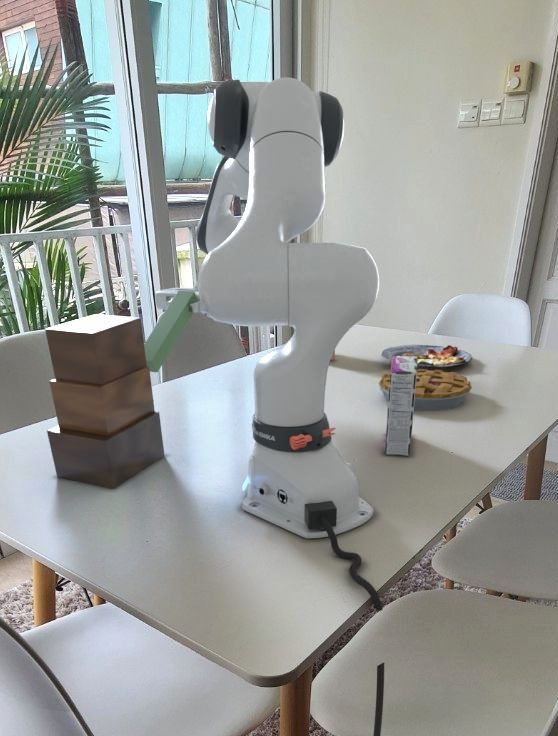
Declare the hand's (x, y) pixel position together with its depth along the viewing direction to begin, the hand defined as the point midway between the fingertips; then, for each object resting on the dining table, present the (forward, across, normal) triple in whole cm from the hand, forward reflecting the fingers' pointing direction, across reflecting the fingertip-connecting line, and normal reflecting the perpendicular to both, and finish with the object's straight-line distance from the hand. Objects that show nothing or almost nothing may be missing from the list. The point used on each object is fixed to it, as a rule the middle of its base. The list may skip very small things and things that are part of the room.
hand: (180, 307), depth 127 cm
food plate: (-66, +37, +24) cm, 79 cm away
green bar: (+4, 0, +5) cm, 7 cm away
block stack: (+27, 0, +24) cm, 36 cm away
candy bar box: (-2, +47, +24) cm, 53 cm away
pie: (-34, +44, +24) cm, 61 cm away
